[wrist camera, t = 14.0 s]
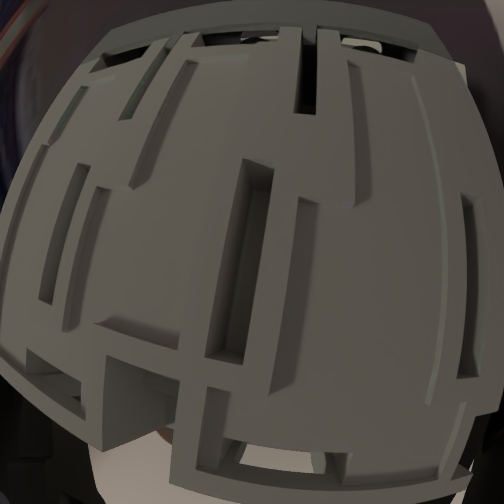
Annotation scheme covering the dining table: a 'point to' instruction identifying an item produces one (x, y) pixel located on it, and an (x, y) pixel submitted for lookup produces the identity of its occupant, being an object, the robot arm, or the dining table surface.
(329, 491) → the circuit breaker
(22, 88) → the dining table surface
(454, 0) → the dining table surface
